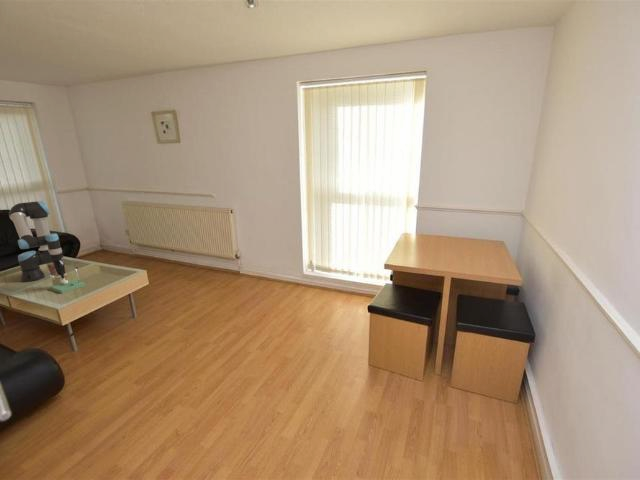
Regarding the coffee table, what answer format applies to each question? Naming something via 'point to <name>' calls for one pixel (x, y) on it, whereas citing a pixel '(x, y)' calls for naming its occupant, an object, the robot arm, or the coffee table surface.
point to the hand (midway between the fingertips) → (63, 281)
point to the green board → (67, 286)
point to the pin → (76, 272)
